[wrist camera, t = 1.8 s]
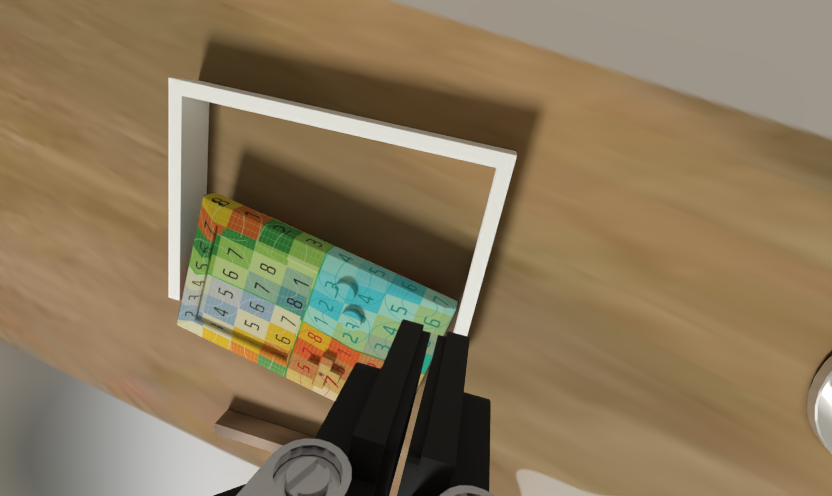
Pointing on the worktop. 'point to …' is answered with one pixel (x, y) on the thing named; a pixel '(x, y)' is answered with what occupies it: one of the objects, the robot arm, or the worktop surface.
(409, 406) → the robot arm
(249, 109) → the frame
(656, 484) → the worktop surface
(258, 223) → the puzzle game
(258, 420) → the rail
